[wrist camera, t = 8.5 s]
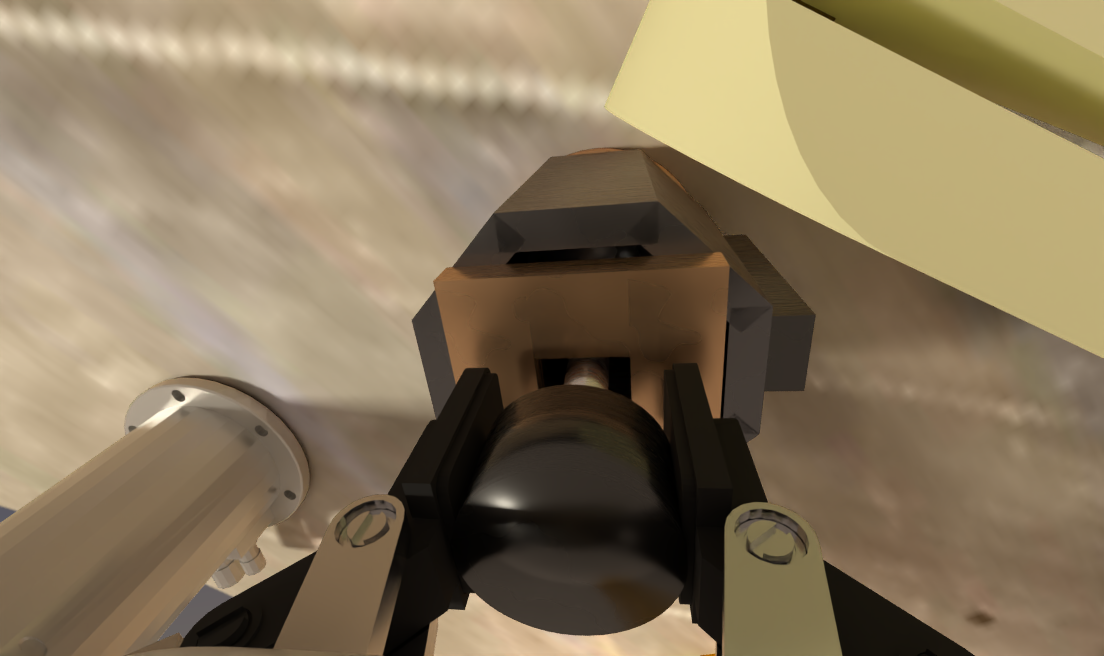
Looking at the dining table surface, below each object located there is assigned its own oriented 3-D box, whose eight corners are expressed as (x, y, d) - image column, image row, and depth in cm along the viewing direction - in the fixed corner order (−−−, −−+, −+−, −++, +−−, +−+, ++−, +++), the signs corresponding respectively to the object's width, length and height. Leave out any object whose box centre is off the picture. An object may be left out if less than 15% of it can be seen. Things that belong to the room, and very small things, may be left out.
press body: (723, 331, 25) (812, 537, 14) (519, 338, 27) (444, 526, 15) (735, 135, 21) (877, 190, 9) (493, 157, 23) (363, 227, 11)
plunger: (671, 327, 23) (750, 686, 9) (537, 332, 24) (427, 661, 10) (672, 188, 20) (789, 402, 6) (521, 200, 21) (338, 406, 7)
